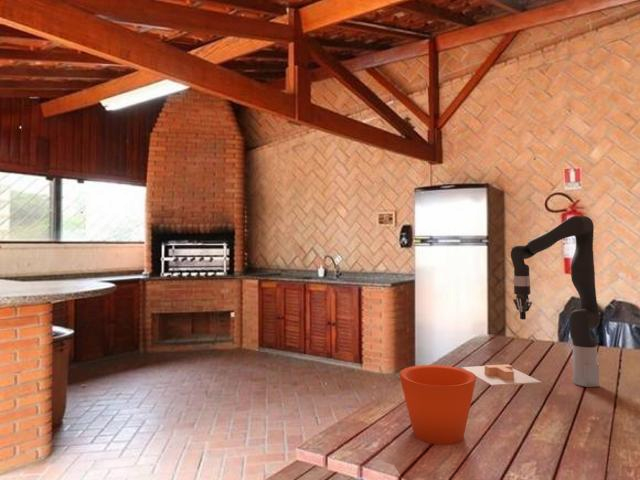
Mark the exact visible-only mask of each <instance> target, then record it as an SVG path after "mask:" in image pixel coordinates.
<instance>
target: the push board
mask: <svg viewBox="0 0 640 480" xmlns="http://www.w3.org/2000/svg"><path fill="white" fill-rule="evenodd" d="M461 369H464V370H467V371H470V372H472V373H473V374H475V375H476V378H479V379H481V380H482V381H484V382H485V383H487V384H489V387H497V386H498V387H499V386H516V385H517V386H518V385H529V384H530V385H531V384H534V383H535V384H542V381H541V380H539V379H536V378H535V377H532V376H530V375H527V374H526V373H524V372H521V371H519V370H517V369H515V368H513V367H512V369H513V371H514V380H508V381H506V380H504V379H502V378H500V377H498V376H488V375H486V374H485V365H478V366H476V365H475V366H461Z"/></svg>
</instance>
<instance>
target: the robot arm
mask: <svg viewBox="0 0 640 480" xmlns="http://www.w3.org/2000/svg"><path fill="white" fill-rule="evenodd" d="M594 228H595V227H594V222H593V220H592V219H591V218H590V217H589V216H586V215H573V216H569V217H568V218H567V219H566V220H564V221H562V222H561V223H559V224H558V225H557V226H555V227H553V228H552V229H550V230H548V231H546V232H544V233H542V234H541V235H539V236H536V237H534V238H532V239H530V240H529V241H528V242H527V243H526V244H525V245H514V246H512V248H511V250H510V259H511V261H512V266H513V269H514V270H513V271H514V272H513V275H514V276H513V277H514V278H513V293H514V295H516V296H515V298H514V299H513V301H512V302H513V303H514V306H515V309H516V310H517V311H518V312H519V318H520V320H526V319H527V315H526V313H527V312H529V311H530V308H531V306H532V304H533V303H532V301H530V298H529V295H531V277H530V266H529V265H528V264H526V263H525V260H527V259H530V258H532V257H534V256H535V255H536V254H538V253H541V252H543V251H545V250H547V249H549V248H550V247H552V246H553V245H555V244H556V243H558V242H559V241H561V240H563V239H567V238H570V237H575V238H574V239H575V251H574V254H573V256H572V259H571V263H570V277H571V282H572V285H573V287H574V288H575V290H576V292H577V294H578V296H579V299H580V309H575V310H573V311H572V312H571V313H570V315H569V318H568V319H569V320H568V323H569V324H568V325H569V335H570V338H571V341H572V367H573V369H572V370H573V371H572V372H573V384H575V385H577V386H581V387H584V388H585V387H586V388H596V387H597V388H599V387H600V370H599V369H600V368H599V364H598V360H597V359H598V352H597V348H598V345H597V340H596V339H595V338H593V337H591V334H590V333H591V330H596V329H597V328H598V327H599V325H600V313H599V312H600V311H599V306H598V301H597V289H596V276H595V275H596V272H595V264H594V263H595V261H594V259H595V258H594V244H593V243H594Z"/></svg>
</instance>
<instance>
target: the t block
mask: <svg viewBox="0 0 640 480" xmlns="http://www.w3.org/2000/svg"><path fill="white" fill-rule="evenodd" d="M484 366H485V374H486V375H488V376H498V377H500V378H502V379H504V380H506V381H508V380H514V371H513V369H514V368H513V366H512V365H510V364H508V363H507V364H505V363H504V364H491V365H490V364H488V365H486V364H485V365H484ZM512 368H513V369H512Z"/></svg>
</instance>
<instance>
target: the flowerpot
mask: <svg viewBox="0 0 640 480" xmlns="http://www.w3.org/2000/svg"><path fill="white" fill-rule="evenodd" d="M398 375H399V379H400V384H401V387H402V392H403V395H404V400H405V404H406V409H407V412H408V416H409V420H410V425H411V427H412V431H413V435H414V437H415V438H417V439H418V440H420V441H422V442H424V443H428V444H431V445H437V446H448V445H449V446H450V445H455V444H458V443H460V442H462V441H463V440H464V437H465V432H466V429H467V428H466V427H467V423H468V418H469V415H470V409H471V404H472V399H473V395H474V392H475V390H474V389H475V386H476V381H477V376H476V375H475V374H473V373H472V372H470V371H467V370H465V369H464V368H462V367H461V368H460V367H454V366H449V365H440V364H439V365H438V364H422V365H413V366H408V367H405V368H403V369H401V370H400V371H399V374H398Z"/></svg>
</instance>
